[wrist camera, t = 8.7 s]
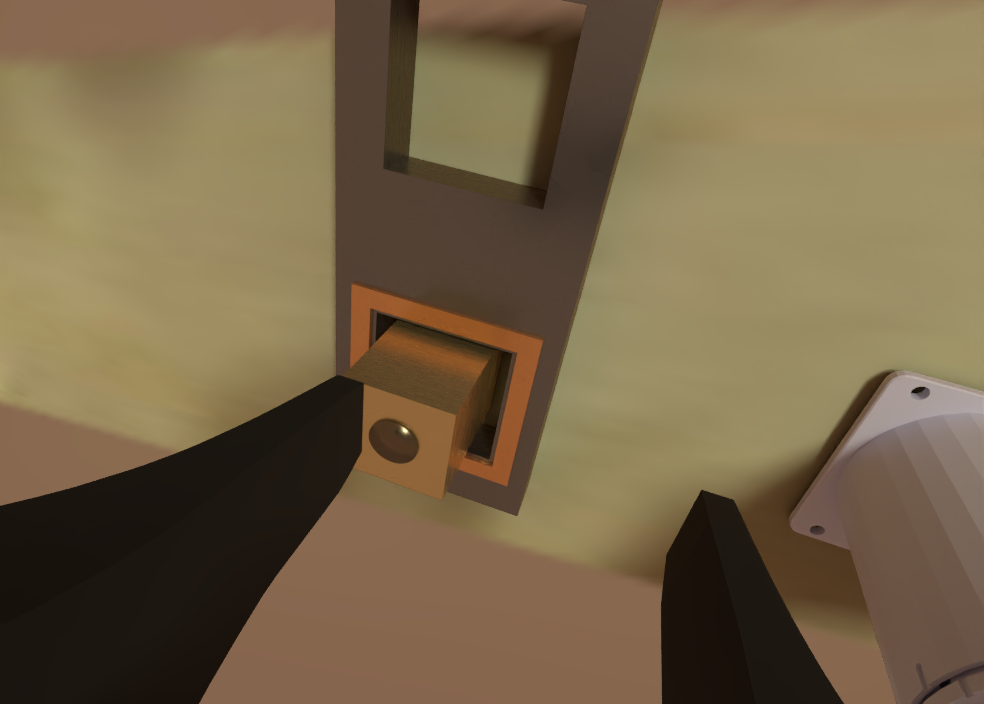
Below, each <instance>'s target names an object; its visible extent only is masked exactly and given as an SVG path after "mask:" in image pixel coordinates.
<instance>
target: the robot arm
mask: <svg viewBox="0 0 984 704" xmlns="http://www.w3.org/2000/svg"><path fill="white" fill-rule="evenodd" d="M920 386H921V387H925V389H924V390H923V391H922V392H919V393H911V391H912V390H913V389H914V388H916V387H920ZM363 400H364V383H363V382H360V381H356V380H353V379H350V378H347V377H344V376H341V375H337V376H335V377H333V378H331V379H329V380H327V381H325V382H323V383H321V384H320V385H318V386H316V387H314V388H312V389H310V390H308V391H306V392H304V393H303V394H301V395H299V396H297V397H295V398H293V399H291V400H289V401H287V402H286V403H284V404H282V405H280V406H278V407H276V408H274V409H272V410H270V411H268V412H266V413H264V414H262V415H260V416H258V417H256V418H254V419H252V420H250V421H248V422H246V423H244V424H242V425H239V426H237V427H235V428H233V429H231V430H229V431H226V432H224V433H222V434H220V435H218V436H215V437H213V438H211V439H209V440H207V441H205V442H202V443H200V444H198V445H195V446H193V447H191V448H188V449H186V450H183V451H181V452H178V453H176V454H173V455H170V456H168V457H165V458H162V459H159V460H157V461H154V462H151V463H149V464H146V465H144V466H140V467H137V468H134V469H131V470H128V471H125V472H122V473H119V474H116V475H112V476H109V477H106V478H102V479H99V480H96V481H93V482H90V483H86V484H83V485H80V486H77V487H73V488H70V489H66V490H62V491H58V492H54V493H51V494H47V495H43V496H39V497H35V498H32V499H27V500H23V501H19V502H14V503H10V504H6V505H2V506H0V704H199V703H200V701H201V699H202V697H203V695H204V693H205V692H206V690H207V688H208V686H209V684H210V683H211V681H212V679H213V678H214V676H215V674H216V672H217V670H218V669H219V667H220V666H221V664H222V662H223V661H224V659H225V657H226V655H227V654H228V652H229V650H230V648H231V647H232V645H233V643H234V642H235V640H236V638H237V637H238V635H239V633H240V632H241V630H242V628H243V627H244V625H245V624H246V622H247V620H248V619H249V617H250V615H251V614H252V612H253V610H254V609H255V607H256V606H257V604H258V602H259V601H260V599H261V597H262V596H263V594H264V593H265V591H266V590H267V588H268V587H269V586H270V584H271V583H272V581H273V580H274V578H275V577H276V575H277V574H278V573H279V571H280V570H281V569H282V567H283V566H284V565H285V563H286V562H287V561H288V559H289V558H290V557H291V555H292V554H293V553H294V551H295V550H296V549H297V547H298V546H299V545H300V544H301V542H302V541H303V540H304V538H305V537H306V535H307V534H308V533H309V532H310V530H311V529H312V528H313V526H314V525H315V524H316V522H317V521H318V520H319V518H320V517H321V515H322V514H323V513H324V512H325V510H326V509H327V507H328V506H329V505H330V503H331V502H332V501H333V499H334V498H335V497H336V495H337V494H338V492H339V491H340V489H341V488H342V486H343V484H344V483H345V481H346V479H347V478H348V476H349V474H350V472H351V471H352V469H353V467H354V465H355V463H356V461H357V460H358V458H359V456H360V454H361V452H362V433H363ZM789 522H790V526H791V528H792V530H793V531H795V532H797V533H799V534H802V535H805V536H808V537H811V538H814V539H818V540H821V541H824V542H827V543H830V544H833V545H836V546H839V547H842V548H845V549H848V550H850V552H851V555H852V559H853V562H854V565H855V569H856V572H857V575H858V578H859V582H860V585H861V588H862V592H863V595H864V598H865V602H866V605H867V608H868V612H869V615H870V618H871V622H872V625H873V628H874V631H875V635H876V638H877V641H878V645H879V648H880V651H881V655H882V658H883V661H884V664H885V668H886V671H887V675H888V678H889V681H890V684H891V688H892V691H893V694H894V697H895V701H896V704H984V391H980V390H977V389H973V388H969V387H966V386H962V385H958V384H955V383H951V382H948V381H944V380H940V379H937V378H933V377H929V376H926V375H922V374H919V373H915V372H911V371H905V370H900V371H895V372H893V373H891V374H889V375H888V376H887V377H886V378H885V379H884V380H883V382H882V383H881V385H880V386H879V388H878V389H877V390H876V392H875V393H874V395H873V396H872V398H871V399H870V401H869V402H868V403H867V405H866V406H865V408H864V409H863V411H862V412H861V414H860V415H859V416H858V418H857V419H856V421H855V422H854V424H853V425H852V427H851V428H850V429H849V431H848V432H847V434H846V435H845V437H844V438H843V440H842V441H841V442H840V444H839V445H838V447H837V448H836V450H835V451H834V453H833V454H832V455H831V457H830V458H829V460H828V461H827V463H826V464H825V466H824V467H823V468H822V470H821V471H820V473H819V474H818V476H817V477H816V479H815V480H814V481H813V483H812V484H811V486H810V487H809V489H808V490H807V492H806V493H805V494H804V496H803V497H802V499H801V500H800V502H799V503H798V505H797V506H796V507H795V509H794V510H793V512H792V513H791V515H790V517H789ZM816 525H817V526H820V527H817V528H815V527H812V526H816ZM661 651H662V652H661V653H662V704H844V703H843V701H842V700H841V699H840V697H839V696H838V694H837V693H836V691H835V689H834V688H833V687H832V685H831V683H830V682H829V680H828V678H827V677H826V676H825V674H824V672H823V670H822V669H821V667H820V665H819V664H818V662H817V661H816V659H815V657H814V655H813V654H812V652H811V650H810V648H809V647H808V645H807V643H806V642H805V640H804V638H803V636H802V635H801V633H800V631H799V629H798V627H797V626H796V624H795V622H794V620H793V618H792V617H791V615H790V613H789V611H788V609H787V607H786V605H785V603H784V601H783V600H782V598H781V596H780V594H779V592H778V590H777V588H776V586H775V584H774V582H773V580H772V578H771V576H770V574H769V572H768V570H767V568H766V566H765V564H764V562H763V560H762V558H761V556H760V554H759V552H758V550H757V548H756V546H755V544H754V542H753V540H752V537H751V535H750V533H749V531H748V529H747V527H746V525H745V523H744V520H743V518H742V516H741V514H740V512H739V510H738V508H737V506H736V504H735V502H734V500H732V499H729V498H726V497H723V496H719V495H716V494H713V493H710V492H707V491H704V490H701V492H700V494H699V496H698V497H697V499H696V501H695V503H694V505H693V507H692V509H691V510H690V512H689V514H688V516H687V518H686V520H685V522H684V523H683V525H682V527H681V529H680V531H679V533H678V535H677V536H676V538H675V540H674V542H673V544H672V546H671V548H670V549H669V551H668V553H667V556H666V565H665V573H664V581H663V591H662V601H661Z"/></svg>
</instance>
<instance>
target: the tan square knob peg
mask: <svg viewBox="0 0 984 704" xmlns="http://www.w3.org/2000/svg"><path fill="white" fill-rule="evenodd" d="M502 352H503V351H502V350H499V349H496V348H492V347H489V346H486V345H482V344H479V343H476V342H473V341H469V340H466V339H463V338H459V337H456V336H453V335H450V334H446V333H443V332H440V331H436V330H433V329H430V328H427V327H423V326H420V325H417V324H413V323H410V322H407V321H404V320H400V319H398V320H397V321H396V322H395V323H394V324H393V325H392V326H391V327H390V328H389V329H388V330H387V331H386V332H385V333H384V334H383V335H382V336H381V337H380V338H379V339H378V340H377V341H376V342H375V343H374V344H373V345H372V346H371V347H370V348H369V350H368V351H367V352H366V353H365V354H364V355H363V356H362V357H361V358H360V359H359V360H358V361H357V362H356V363H355V364H354V365H353V366H352V367H351V368H350V369H349V370H348V371H347V372H346V373H345V374H344V375H343V376H344V377H347V378H350V379H353V380H356V381H360V382H363V383H364V400H363V433H362V452H361V454H360V456H359V458H358V460H357V461H356V463H355V465H354V467H353V468H355V469H357V470H360V471H363V472H366V473H368V474H371V475H374V476H376V477H379V478H382V479H385V480H387V481H390V482H393V483H396V484H398V485H401V486H404V487H407V488H409V489H412V490H415V491H418V492H420V493H423V494H426V495H429V496H431V497H434V498H437V499H440V500H442V499H443V497H444V495H445V493H446V491H447V490H448V488H449V486H450V484H451V482H452V480H453V478H454V476H455V474H456V472H457V470H458V468H459V466H460V464H461V462H462V460H463V459H464V457H465V455H466V453H467V451H468V449H469V447H470V445H471V443H472V441H473V439H474V437H475V435H476V433H477V431H478V429H479V428H480V426H481V424H482V422H483V420H484V418H485V416H486V414H487V412H488V410H489V408H490V406H491V404H492V400H493V395H494V391H495V386H496V381H497V376H498V371H499V367H500V362H501V357H502Z"/></svg>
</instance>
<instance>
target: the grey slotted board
mask: <svg viewBox="0 0 984 704" xmlns="http://www.w3.org/2000/svg"><path fill="white" fill-rule="evenodd" d="M419 1H420V0H335V86H336V376H337V375H341V376H343V375H344V374H345V373H346V372H347V371H348V370H349V369H350V368H351V367H352V366H353V365H354V364H355V363H356V362H357V361H358V360H359V359H360V358H361V357H362V356H363V355H364V354H365V353H366V352H367V351H368V350H369V348H370V347H371V346H372V345H373V344H374V343H375V342H376V341H377V340H378V339H379V338H380V337H381V336H382V335H383V334H384V333H385V332H386V331H387V330H388V329H389V328H390V327H391V326H392V325H393V324H394V323H395V322H396V321H397V319H400V320H404V321H407V322H410V323H413V324H417V325H420V326H423V327H427V328H430V329H433V330H436V331H440V332H443V333H446V334H450V335H453V336H456V337H459V338H463V339H466V340H469V341H473V342H476V343H479V344H482V345H486V346H489V347H492V348H496V349H499V350H502V351H505V352H509V353H512V358H511V362H510V367H509V372H508V376H507V381H506V386H505V390H504V395H503V400H502V404H501V409H500V414H499V418H498V423H497V428H496V429H495V428H492V427H489V426H486V425H483V424H481V426H480V428H479V429H478V431H477V433H476V435H475V437H474V439H473V441H472V443H471V445H470V447H469V449H468V451H467V453H466V455H465V457H464V459H463V460H462V462H461V464H460V466H459V468H458V470H457V472H456V474H455V476H454V478H453V480H452V482H451V484H450V486H449V488H448V490H447V491H448V492H450V493H453V494H456V495H459V496H462V497H464V498H467V499H470V500H473V501H476V502H478V503H481V504H484V505H487V506H490V507H493V508H495V509H498V510H501V511H504V512H507V513H509V514H512V515H515V516H517V515H518V513H519V510H520V507H521V504H522V501H523V498H524V495H525V492H526V489H527V487H528V483H529V480H530V476H531V473H532V469H533V465H534V462H535V458H536V455H537V451H538V447H539V444H540V440H541V437H542V433H543V429H544V426H545V422H546V419H547V415H548V412H549V408H550V404H551V401H552V397H553V394H554V390H555V386H556V383H557V379H558V376H559V372H560V368H561V365H562V361H563V358H564V354H565V350H566V347H567V343H568V340H569V336H570V332H571V329H572V325H573V322H574V318H575V315H576V311H577V307H578V304H579V300H580V297H581V293H582V289H583V286H584V282H585V279H586V275H587V271H588V268H589V264H590V261H591V257H592V253H593V250H594V246H595V243H596V239H597V235H598V232H599V228H600V225H601V221H602V218H603V214H604V210H605V207H606V203H607V200H608V196H609V192H610V189H611V185H612V182H613V178H614V174H615V171H616V167H617V164H618V160H619V156H620V153H621V149H622V146H623V142H624V138H625V135H626V131H627V128H628V124H629V121H630V117H631V113H632V110H633V106H634V103H635V99H636V95H637V92H638V88H639V85H640V81H641V77H642V74H643V70H644V67H645V63H646V59H647V56H648V52H649V49H650V45H651V41H652V38H653V34H654V31H655V27H656V24H657V20H658V16H659V13H660V9H661V6H662V2H663V0H564V1H569V2H574V3H580V4H585V5H587V8H586V12H585V17H584V22H583V26H582V31H581V36H580V40H579V45H578V50H577V54H576V59H575V64H574V68H573V73H572V78H571V82H570V87H569V92H568V96H567V101H566V106H565V110H564V115H563V120H562V124H561V129H560V134H559V138H558V143H557V148H556V152H555V157H554V162H553V166H552V171H551V176H550V180H549V185H548V190H547V191H544V190H540V189H536V188H532V187H528V186H524V185H520V184H516V183H512V182H508V181H504V180H500V179H496V178H492V177H488V176H484V175H480V174H476V173H472V172H468V171H464V170H460V169H456V168H452V167H448V166H444V165H440V164H436V163H432V162H428V161H424V160H420V159H416V158H412V157H409V144H410V129H411V115H412V101H413V87H414V72H415V58H416V44H417V29H418V15H419Z"/></svg>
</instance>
